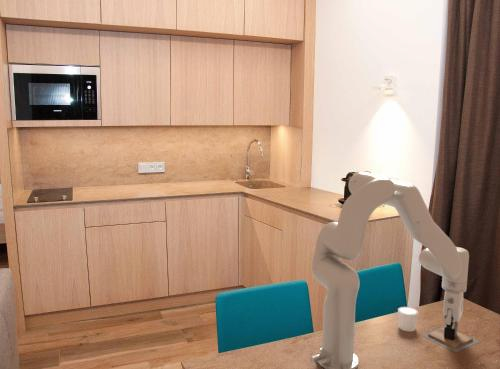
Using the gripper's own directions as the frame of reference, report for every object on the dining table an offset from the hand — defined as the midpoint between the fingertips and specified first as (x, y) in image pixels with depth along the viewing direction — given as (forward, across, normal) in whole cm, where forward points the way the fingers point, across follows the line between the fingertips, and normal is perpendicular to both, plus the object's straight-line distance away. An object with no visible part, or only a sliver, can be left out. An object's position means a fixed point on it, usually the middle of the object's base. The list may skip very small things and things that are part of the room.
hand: (450, 335), depth 154 cm
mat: (+2, 0, 0) cm, 2 cm away
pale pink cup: (+2, 0, +14) cm, 14 cm away
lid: (+1, 0, 0) cm, 1 cm away
